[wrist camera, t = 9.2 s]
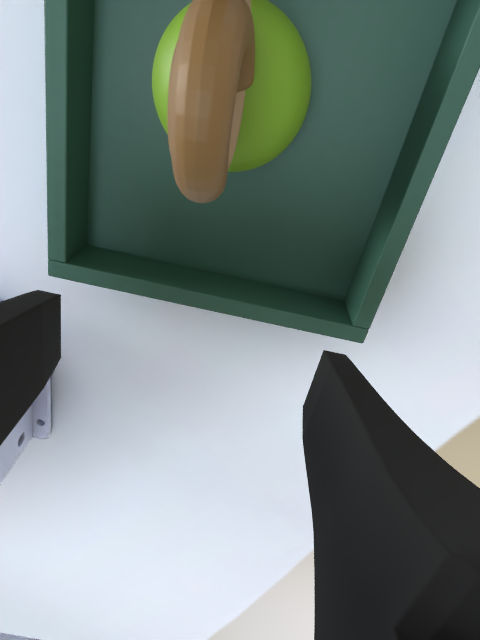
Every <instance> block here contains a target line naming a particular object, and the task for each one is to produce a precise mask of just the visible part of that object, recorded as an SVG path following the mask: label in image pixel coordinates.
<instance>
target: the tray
mask: <svg viewBox="0 0 480 640" xmlns="http://www.w3.org/2000/svg"><path fill="white" fill-rule="evenodd" d="M192 1H193V0H44V14H45V83H46V151H47V220H48V259H49V260H48V275H49V276H53V277H58V278H62V279H67V280H72V281H76V282H81V283H86V284H90V285H95V286H99V287H104V288H109V289H113V290H118V291H122V292H127V293H132V294H136V295H141V296H146V297H150V298H155V299H159V300H164V301H169V302H173V303H178V304H183V305H187V306H192V307H196V308H201V309H206V310H210V311H215V312H220V313H224V314H229V315H233V316H238V317H243V318H247V319H252V320H257V321H261V322H266V323H270V324H275V325H280V326H284V327H289V328H294V329H298V330H303V331H307V332H312V333H317V334H321V335H326V336H331V337H335V338H340V339H344V340H349V341H354V342H358V343H363V342H364V340H365V337H366V335H367V333H368V329H369V328H370V326H371V323H372V321H373V319H374V316H375V314H376V312H377V309H378V307H379V304H380V302H381V300H382V297H383V295H384V293H385V290H386V288H387V286H388V283H389V281H390V278H391V276H392V274H393V271H394V269H395V267H396V264H397V262H398V260H399V257H400V255H401V252H402V250H403V248H404V245H405V243H406V241H407V238H408V236H409V234H410V231H411V229H412V226H413V224H414V222H415V219H416V217H417V215H418V212H419V210H420V208H421V205H422V203H423V200H424V198H425V196H426V193H427V191H428V189H429V186H430V184H431V182H432V179H433V177H434V174H435V172H436V170H437V167H438V165H439V163H440V160H441V158H442V155H443V153H444V151H445V148H446V146H447V144H448V141H449V139H450V137H451V134H452V132H453V129H454V127H455V125H456V122H457V120H458V118H459V115H460V113H461V111H462V108H463V106H464V103H465V101H466V99H467V96H468V94H469V92H470V89H471V87H472V85H473V82H474V80H475V77H476V75H477V73H478V70H479V68H480V0H268V1H269V2H271V3H272V4H274V5H275V6H276V7H278V8H279V9H280V10H281V11H282V12H283V13H284V14H285V15H286V16H287V17H288V18H289V19H290V20H291V22H292V23H293V24H294V26H295V27H296V29H297V31H298V32H299V34H300V36H301V38H302V40H303V43H304V45H305V48H306V51H307V54H308V58H309V62H310V68H311V96H310V102H309V106H308V110H307V113H306V116H305V119H304V121H303V124H302V126H301V128H300V130H299V131H298V133H297V135H296V136H295V138H294V139H293V141H292V142H291V143H290V144H289V146H288V147H287V148H286V149H285V150H284V151H283V152H282V153H281V154H279V155H278V156H277V157H276V158H274V159H273V160H271V161H270V162H268V163H266V164H264V165H262V166H260V167H257V168H254V169H251V170H247V171H241V172H227V181H226V185H225V188H224V190H223V192H222V194H221V195H220V196H219V197H218V198H217V199H215V200H213V201H211V202H208V203H196V202H193V201H191V200H189V199H188V198H186V197H185V196H184V195H183V194H182V193H181V191H180V189H179V187H178V186H177V184H176V181H175V178H174V174H173V167H172V159H171V154H170V150H169V142H168V134H167V133H166V131H165V129H164V128H163V126H162V124H161V121H160V119H159V117H158V114H157V111H156V107H155V103H154V98H153V91H152V70H153V62H154V58H155V54H156V50H157V47H158V44H159V42H160V40H161V37H162V35H163V33H164V32H165V30H166V28H167V27H168V25H169V24H170V22H171V21H172V20H173V18H174V17H175V16H176V15H177V14H178V13H179V12H180V11H181V10H182V9H183V8H184V7H186V6H187V5H188V4H190V3H191V2H192Z"/></svg>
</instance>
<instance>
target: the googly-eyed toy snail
mask: <svg viewBox="0 0 480 640" xmlns="http://www.w3.org/2000/svg"><path fill="white" fill-rule="evenodd" d="M152 91H153V98H154V103H155V107H156V111H157V114H158V117H159V119H160V121H161V124H162V126H163V128H164V129H165V131H166V133H167V134H168V142H169V150H170V154H171V159H172V167H173V174H174V178H175V181H176V184H177V186H178V187H179V189H180V191H181V193H182V194H183V195H184V196H185V197H186V198H188V199H189V200H191V201H193V202H196V203H208V202H211V201H213V200H215V199H217V198H218V197H219V196H220V195H221V194H222V192H223V190H224V188H225V185H226V181H227V172H241V171H247V170H251V169H254V168H257V167H260V166H262V165H264V164H266V163H268V162H270V161H271V160H273V159H274V158H276V157H277V156H278V155H279V154H281V153H282V152H283V151H284V150H285V149H286V148H287V147H288V146H289V144H290V143H291V142H292V141H293V139H294V138H295V136H296V135H297V133H298V131H299V130H300V128H301V126H302V124H303V121H304V119H305V116H306V113H307V110H308V106H309V102H310V96H311V68H310V62H309V58H308V54H307V51H306V48H305V45H304V43H303V40H302V38H301V36H300V34H299V32H298V31H297V29H296V27H295V26H294V24H293V23H292V22H291V20H290V19H289V18H288V17H287V16H286V15H285V14H284V13H283V12H282V11H281V10H280V9H279V8H278V7H276V6H275V5H274V4H272V3H271V2H269V1H268V0H193V1H192V2H191V3H190V4H188V5H187V6H186V7H184V8H183V9H182V10H181V11H180V12H179V13H178V14H177V15H176V16H175V17H174V18H173V20H172V21H171V22H170V24H169V25H168V27H167V28H166V30H165V32H164V33H163V35H162V37H161V40H160V42H159V44H158V47H157V50H156V54H155V58H154V62H153V70H152Z"/></svg>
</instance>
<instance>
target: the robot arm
mask: <svg viewBox="0 0 480 640" xmlns="http://www.w3.org/2000/svg"><path fill="white" fill-rule="evenodd" d="M60 358H61V295H59V294H54V293H49V292H45V291H40V290H36V291H32V292H29V293H26V294H22V295H20V296H17V297H14V298H11V299H8V300H6V301H3V302H0V484H1V483H2V481H3V480H4V478H5V477H6V475H7V474H8V472H9V471H10V469H11V468H12V466H13V465H14V463H15V462H16V460H17V459H18V457H19V456H20V454H21V453H22V451H23V450H24V448H25V447H26V445H27V444H28V442H29V441H30V439H31V438H32V437H34V438H39V439H47V438H48V437H49V435H50V434H51V384H50V377H51V375H52V373H53V371H54V369H55V367H56V365H57V364H58V362H59V360H60ZM40 419H41V420H40ZM42 420H43V421H42ZM303 446H304V455H305V463H306V470H307V478H308V486H309V493H310V501H311V509H312V518H313V530H314V566H315V633H314V640H480V488H478V487H477V486H476V485H475V484H473V483H472V482H471V481H469V480H468V479H467V478H466V477H464V476H463V475H461V474H460V473H459V472H458V471H457V470H455V469H454V468H453V467H452V466H450V465H449V464H448V463H447V462H446V461H445V460H443V459H442V458H441V457H440V456H439V455H438V454H437V453H436V452H434V451H433V450H432V449H431V448H430V447H429V446H428V445H427V444H426V443H424V442H423V441H422V440H421V439H420V438H419V437H418V436H417V435H416V434H415V433H414V432H413V431H412V430H411V429H410V428H409V427H408V426H407V425H406V424H405V423H404V422H403V421H402V420H401V419H400V418H399V416H398V415H397V414H396V413H395V412H394V411H393V410H392V409H391V408H390V407H389V405H388V404H387V403H386V402H385V401H384V400H383V399H382V397H381V396H380V395H379V394H378V393H377V392H376V390H375V389H374V388H373V387H372V386H371V384H370V383H369V382H368V381H367V380H366V378H365V377H364V376H363V375H362V373H361V372H360V371H359V370H358V369H357V367H356V366H355V365H354V364H353V363H352V361H351V360H350V359H349V358H348V357H347V356H346V355H344V354H339V353H334V352H330V351H325V350H324V351H323V354H322V356H321V359H320V362H319V364H318V367H317V370H316V373H315V375H314V378H313V381H312V384H311V386H310V389H309V392H308V395H307V397H306V400H305V403H304V405H303ZM0 640H39V639H33V638H27V637H21V636H15V635H10V634H4V633H0Z"/></svg>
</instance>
